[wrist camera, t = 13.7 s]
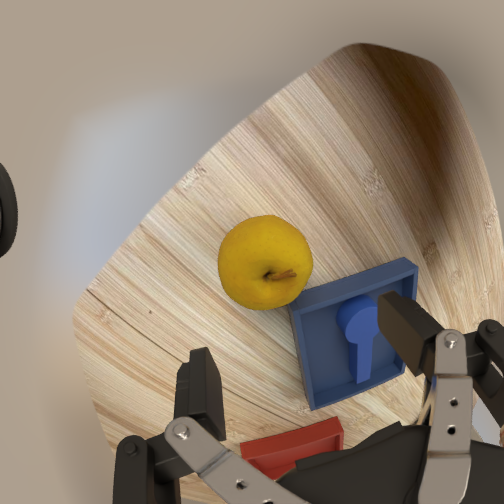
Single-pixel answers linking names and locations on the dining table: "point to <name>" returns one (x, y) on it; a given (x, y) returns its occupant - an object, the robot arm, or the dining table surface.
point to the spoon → (359, 333)
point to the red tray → (292, 447)
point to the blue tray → (333, 340)
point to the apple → (264, 263)
